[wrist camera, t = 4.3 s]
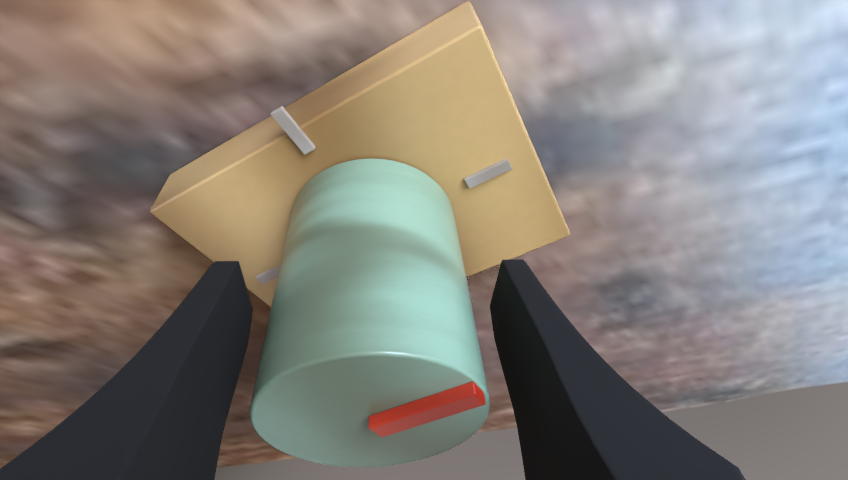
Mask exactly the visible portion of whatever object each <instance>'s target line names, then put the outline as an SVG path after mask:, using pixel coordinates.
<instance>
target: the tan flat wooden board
mask: <svg viewBox="0 0 848 480" xmlns="http://www.w3.org/2000/svg"><path fill="white" fill-rule="evenodd" d="M369 158H373V159H386V160H393V161H397V162H400V163H404V164H407V165H409V166H412V167H414V168H416V169H418V170H420V171H422V172H424V173H425V174H427V175H428V176H429V177H431V178H432V179H433V180H434V181H435V182H436V183H437V184H439V185H440V186H441V188H442V189H443V190H444V192H445V193H446V194H447V196H448V198H449V200H450V202H451V205H452V208H453V212H454V217H455V222H456V227H457V232H458V238H459V243H460V248H461V253H462V258H463V264H464V269H465V274H466V277H468V276H471V275H473V274H476V273H478V272H481V271H483V270H486V269H488V268H491V267H493V266H496V265H498V264H501V262H502V260H510V259H513V258H515V257H518V256H520V255H523V254H525V253H528V252H530V251H533V250H535V249H538V248H540V247H543V246H545V245H548V244H550V243H553V242H555V241H557V240H560V239H562V238H565V237H567V236H569V235H570V231H569V229H568V226H567V224H566V222H565V219H564V217H563V215H562V212H561V210H560V208H559V205H558V203H557V201H556V198H555V196H554V194H553V191H552V189H551V187H550V184H549V182H548V179H547V177H546V175H545V172H544V170H543V168H542V165H541V163H540V161H539V158H538V156H537V154H536V151H535V149H534V147H533V144H532V142H531V140H530V137H529V135H528V133H527V130H526V128H525V126H524V123H523V121H522V118H521V116H520V114H519V111H518V109H517V107H516V104H515V102H514V100H513V97H512V95H511V93H510V90H509V88H508V86H507V83H506V81H505V79H504V76H503V74H502V72H501V69H500V67H499V64H498V62H497V60H496V57H495V55H494V53H493V50H492V48H491V46H490V43H489V41H488V39H487V36H486V34H485V32H484V29H483V27H482V25H481V23H480V21H479V19H478V17H477V15H476V12H475V10H474V8H473V6H472V4H471V3H470V2H469V1H467V2H465V3H463V4H461V5H460V6H458V7H456V8H454V9H453V10H451V11H449V12H448V13H446V14H444V15H442V16H441V17H439V18H437V19H436V20H434V21H432V22H430V23H429V24H427V25H425V26H424V27H422V28H420V29H418V30H417V31H415V32H413V33H412V34H410V35H408V36H406V37H405V38H403V39H401V40H400V41H398V42H396V43H394V44H393V45H391V46H389V47H388V48H386V49H384V50H382V51H381V52H379V53H377V54H376V55H374V56H372V57H371V58H369V59H367V60H365V61H364V62H362V63H360V64H359V65H357V66H355V67H353V68H352V69H350V70H348V71H347V72H345V73H343V74H341V75H340V76H338V77H336V78H335V79H333V80H331V81H329V82H328V83H326V84H324V85H323V86H321V87H319V88H317V89H316V90H314V91H312V92H311V93H309V94H307V95H305V96H304V97H302V98H300V99H299V100H297V101H295V102H293V103H292V104H290V105H288V106H287V107H285V108H284V107H283V106H281V107H279V108H278V109H276V110H274V111H273V112H271V116H270V117H268V118H266V119H264V120H263V121H261V122H259V123H258V124H256V125H254V126H252V127H251V128H249V129H247V130H246V131H244V132H242V133H240V134H239V135H237V136H235V137H234V138H232V139H230V140H228V141H227V142H225V143H223V144H222V145H220V146H218V147H216V148H215V149H213V150H211V151H210V152H208V153H206V154H204V155H203V156H201V157H199V158H198V159H196V160H194V161H192V162H191V163H189V164H187V165H186V166H184V167H182V168H180V169H179V170H177V171H175V172H174V173H172V174H170V176H169V178H168V179H167V181H166V183H165V185H164V186H163V188H162V190H161V192H160V194H159V195H158V197H157V199H156V201H155V202H154V204H153V206H152V208H151V210H150V213H151V214H152V215H153V216H155V217H156V218H157V219H159V220H160V221H161V222H162V223H164V224H165V225H166V226H168V227H169V228H170V229H171V230H173V231H174V232H175V233H177V234H178V235H179V236H180V237H182V238H183V239H184V240H185V241H187V242H188V243H189V244H191V245H192V246H193V247H194V248H196V249H197V250H198V251H200V252H201V253H202V254H203V255H205V256H206V257H207V258H209V259H210V260H211V261H212V262H215V261H239V264H240V267H241V270H242V274H243V277H244V281H245V284H246V288H247V289H248V290H249V291H251V292H252V293H253V294H255V295H256V296H257V297H258V298H260V299H261V300H262V301H264V302H265V303H266V304H267V305H269V306H270V307H271V306H272V301H273V296H274V291H275V287H276V282H277V277H278V272H279V268H280V263H281V258H282V253H283V248H284V244H285V239H286V234H287V229H288V225H289V220H290V215H291V211H292V207H293V204H294V201H295V199H296V197H297V195H298V194H299V192H300V191H301V189H302V188H303V187H304V186H305V185H306V184H307V182H308V181H310V180H311V179H312V178H313V177H315V176H316V175H317V174H319V173H320V172H322V171H324V170H325V169H327V168H330V167H332V166H334V165H337V164H340V163H343V162H346V161H352V160H357V159H369Z"/></svg>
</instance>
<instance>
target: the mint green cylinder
mask: <svg viewBox="0 0 848 480" xmlns="http://www.w3.org/2000/svg"><path fill="white" fill-rule="evenodd" d="M489 407H490V400H489V394H488V389H487V383H486V378H485V373H484V368H483V363H482V357H481V352H480V347H479V342H478V337H477V331H476V326H475V321H474V316H473V310H472V305H471V300H470V295H469V290H468V284H467V279H466V274H465V269H464V264H463V258H462V253H461V248H460V243H459V238H458V232H457V227H456V222H455V217H454V212H453V208H452V205H451V202H450V200H449V198H448V196H447V194H446V193H445V192H444V190H443V189H442V188H441V186H440V185H439V184H437V183H436V182H435V181H434V180H433V179H432V178H431V177H429V176H428V175H427V174H425V173H424V172H422V171H420V170H418V169H416V168H414V167H412V166H409V165H407V164H404V163H400V162H397V161H393V160H386V159H373V158H369V159H357V160H352V161H346V162H343V163H340V164H337V165H334V166H332V167H330V168H327V169H325V170H324V171H322V172H320V173H319V174H317V175H316V176H315V177H313V178H312V179H311V180H310V181H308V182H307V184H306V185H305V186H304V187H303V188H302V189H301V191H300V192H299V194H298V195H297V197H296V199H295V201H294V204H293V207H292V211H291V215H290V220H289V225H288V229H287V234H286V239H285V244H284V248H283V253H282V258H281V263H280V268H279V272H278V277H277V282H276V287H275V291H274V296H273V301H272V306H271V310H270V315H269V320H268V325H267V329H266V334H265V339H264V344H263V348H262V353H261V358H260V363H259V367H258V372H257V377H256V382H255V386H254V391H253V396H252V401H251V405H250V419H251V422H252V425H253V427H254V429H255V431H256V432H257V434H258V435H259V436H260V437H261V438H262V439H263V440H264V441H266V442H267V443H268V444H269V445H271V446H272V447H274V448H276V449H278V450H279V451H282V452H284V453H286V454H288V455H291V456H294V457H297V458H300V459H303V460H307V461H311V462H316V463H321V464H327V465H335V466H348V467H375V466H386V465H387V466H388V465H395V464H402V463H407V462H412V461H416V460H421V459H424V458H428V457H431V456H434V455H437V454H440V453H442V452H445V451H447V450H449V449H452V448H453V447H455V446H457V445H459V444H461V443H462V442H464V441H466V440H467V439H468V438H470V437H471V436H472V435H474V434H475V433H476V432H477V431H478V430H479V429H480V428H481V426H482V425H483V423H484V422H485V420H486V418H487V415H488V413H489Z"/></svg>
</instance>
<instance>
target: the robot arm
mask: <svg viewBox="0 0 848 480" xmlns="http://www.w3.org/2000/svg"><path fill="white" fill-rule="evenodd" d="M490 310H491V317H492V325H493V331H494V338H495V342H496V346H497V350H498V354H499V358H500V361H501V365H502V369H503V372H504V376H505V380H506V384H507V387H508V391H509V395H510V398H511V402H512V406H513V410H514V414H515V418H516V423H517V428H518V434H519V440H520V445H521V452H522V458H523V465H524V472H525V479H526V480H746V479H745V478H744V476H743V475H742V473H741V472H740V470H739V468H738V467H736V466H735V465H733V464H732V463H730V462H729V461H728V460H726V459H725V458H723V457H722V456H720V455H719V454H717V453H716V452H714V451H713V450H711V449H710V448H709V447H707V446H706V445H704V444H703V443H701V442H700V441H698V440H697V439H695V438H694V437H693V436H691V435H690V434H689V433H688V432H686V431H685V430H683V429H682V428H681V427H680V426H678V425H677V424H676V423H674V422H673V421H672V420H670V419H669V418H668V417H667V416H665V415H664V414H663V413H662V412H660V411H659V410H658V409H657V408H656V407H655V406H653V405H652V404H651V403H650V402H649V401H648V400H646V399H645V398H644V397H643V396H642V395H640V394H639V393H638V392H637V391H636V390H635V389H633V388H632V387H631V386H630V385H629V384H628V383H627V382H626V381H625V380H624V379H623V378H622V377H620V376H619V375H618V374H617V373H616V372H615V371H614V370H613V369H612V368H611V367H610V366H609V365H608V364H607V363H606V362H605V361H604V360H603V359H602V358H601V357H600V355H599V354H598V353H597V352H596V351H595V350H594V349H593V348H592V347H591V346H590V345H589V343H588V342H587V341H586V340H585V339H584V338H583V337H582V336H581V334H580V333H579V332H578V331H577V330H576V329H575V327H574V326H573V325H572V324H571V323H570V321H569V320H568V319H567V318H566V316H565V315H564V314H563V313H562V311H561V310H560V309H559V307H558V306H557V305H556V304H555V302H554V301H553V300H552V298H551V297H550V296H549V294H548V293H547V292H546V290H545V289H544V288H543V286H542V285H541V283H540V282H539V281H538V279H537V278H536V276H535V275H534V274H533V272H532V271H531V269H530V268H529V266H528V265H527V264H526V262H525V261H524V260H502V262H501V265H500V269H499V273H498V277H497V281H496V285H495V288H494V292H493V296H492V300H491V304H490ZM252 312H253V308H252V305H251V301H250V298H249V294H248V291H247V288H246V284H245V281H244V277H243V274H242V270H241V267H240V264H239V261H215V262H214V263H213V264H212V265H211V266H210V267H209V268H208V270H207V271H206V272H205V274H204V275H203V276H202V278H201V279H200V280H199V281H198V283H197V284H196V285H195V287H194V288H193V289H192V290H191V292H190V293H189V294H188V295H187V297H186V298H185V299H184V300H183V302H182V303H181V304H180V305H179V307H178V308H177V309H176V310H175V311H174V312H173V314H172V315H171V316H170V317H169V318H168V320H167V321H166V322H165V323H164V324H163V326H162V327H161V328H160V329H159V330H158V331H157V332H156V333H155V334H154V336H153V337H152V338H151V339H150V340H149V341H148V342H147V343H146V344H145V345H144V346H143V347H142V349H141V350H140V351H139V352H138V353H137V354H136V355H135V356H134V357H133V358H132V359H131V360H130V361H129V362H128V363H127V364H126V365H125V366H124V367H123V368H122V369H121V370H120V371H119V372H118V373H117V374H116V375H115V376H114V377H113V378H112V379H111V380H110V381H109V382H107V383H106V384H105V385H104V386H103V387H102V388H101V389H100V390H99V391H98V392H97V393H95V394H94V395H93V396H92V397H91V398H90V399H89V400H87V401H86V402H85V403H84V404H83V405H82V406H81V407H79V408H78V409H77V410H76V411H75V412H74V413H72V414H71V415H70V416H69V417H68V418H66V419H65V420H64V421H63V422H62V423H60V424H59V425H58V426H57V427H55V428H54V429H53V430H52V431H50V432H49V433H48V434H46V435H45V436H44V437H42V438H41V439H40V440H38V441H37V442H36V443H34V444H33V445H32V446H31V447H29V448H28V449H27V450H25V451H24V452H23V453H21V454H20V455H19V456H17V457H16V458H15V459H13V460H12V461H11V462H9V463H8V464H7V465H5V466H4V467H2V468H1V469H0V480H214V478H215V472H216V467H217V461H218V456H219V450H220V445H221V439H222V434H223V430H224V426H225V422H226V418H227V415H228V411H229V408H230V404H231V401H232V397H233V394H234V391H235V387H236V384H237V380H238V377H239V373H240V370H241V366H242V363H243V359H244V355H245V352H246V348H247V345H248V339H249V333H250V326H251V319H252Z"/></svg>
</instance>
